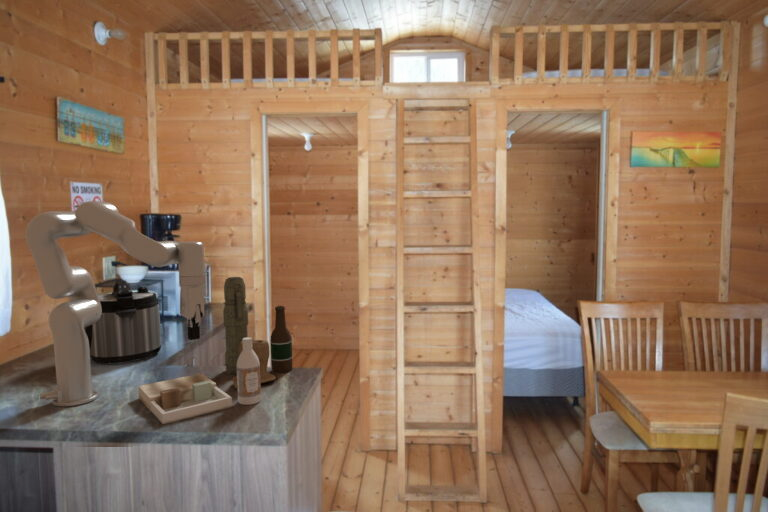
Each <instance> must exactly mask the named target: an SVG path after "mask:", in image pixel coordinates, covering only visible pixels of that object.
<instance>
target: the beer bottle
mask: <svg viewBox="0 0 768 512" xmlns="http://www.w3.org/2000/svg"><path fill="white" fill-rule="evenodd" d="M274 307H275V308H274V310H275V324H274V329H273V330H272V332H271V335H270V364H271V366H270V367H271V370H272V371H273V373H280V374H281V373H287V372H288V373H289V372H291V371H292V370H293V342H292V341H293V340H292V334H291V332H290V330H289V329H288V328H287V323H286V322H287V321H286V314H285V310H286V307H285V306H284V305H277V306H274Z"/></svg>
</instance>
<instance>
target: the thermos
mask: <svg viewBox="0 0 768 512" xmlns="http://www.w3.org/2000/svg"><path fill="white" fill-rule="evenodd" d="M223 294H224V295H223V296H224V297H223V298H224V307H223V311H222V312H223V327H224V329H225V330H224V331H225V332H224V333H225V346H226V347H225V353H224V365H225V372H227V374H228V373H230V374H229V375H237V360H238V358H239V345H240V342H242V339H243V338H247V337H249V336H248V333H249V332H248V325H249V309H248V306H247V302H246V298H247V297H246V296H247V293H246V284H245V280H244V278H242V277H241V276H233V277H227V278H225V281H224V285H223Z"/></svg>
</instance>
